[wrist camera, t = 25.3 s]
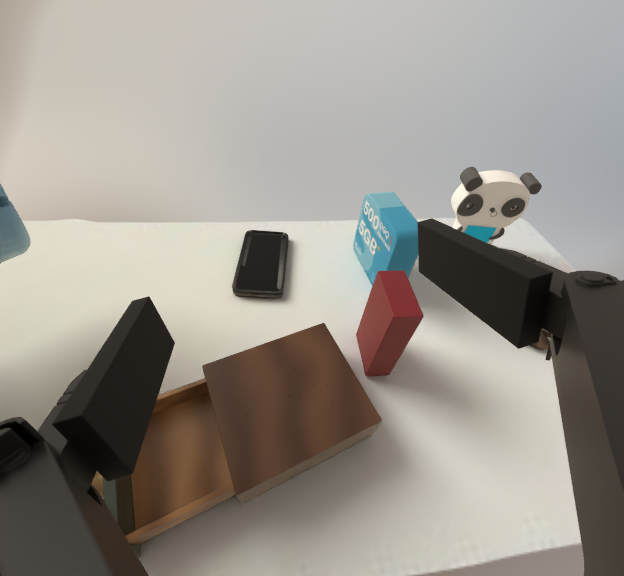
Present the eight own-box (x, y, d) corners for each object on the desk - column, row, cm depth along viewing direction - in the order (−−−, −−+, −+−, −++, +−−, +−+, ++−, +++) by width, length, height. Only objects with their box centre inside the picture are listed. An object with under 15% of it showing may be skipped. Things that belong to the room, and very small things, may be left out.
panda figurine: (438, 262, 55) (478, 188, 44) (427, 225, 63) (458, 154, 52) (502, 269, 56) (558, 197, 44) (483, 231, 63) (527, 162, 52)
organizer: (241, 504, 29) (235, 496, 25) (210, 386, 37) (202, 365, 33) (370, 436, 34) (382, 420, 30) (319, 344, 42) (324, 322, 38)
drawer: (109, 573, 25) (82, 575, 22) (104, 424, 33) (83, 409, 29) (295, 475, 31) (297, 465, 28) (254, 368, 38) (252, 349, 35)
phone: (288, 232, 56) (282, 293, 46) (288, 237, 57) (282, 298, 47) (245, 229, 55) (230, 290, 45) (246, 234, 56) (231, 295, 46)
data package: (351, 247, 56) (365, 189, 47) (374, 245, 57) (391, 187, 48) (377, 296, 49) (399, 237, 40) (402, 291, 50) (428, 234, 41)
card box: (356, 334, 44) (377, 270, 34) (377, 333, 44) (404, 270, 34) (365, 376, 39) (393, 317, 30) (389, 375, 40) (424, 316, 30)
